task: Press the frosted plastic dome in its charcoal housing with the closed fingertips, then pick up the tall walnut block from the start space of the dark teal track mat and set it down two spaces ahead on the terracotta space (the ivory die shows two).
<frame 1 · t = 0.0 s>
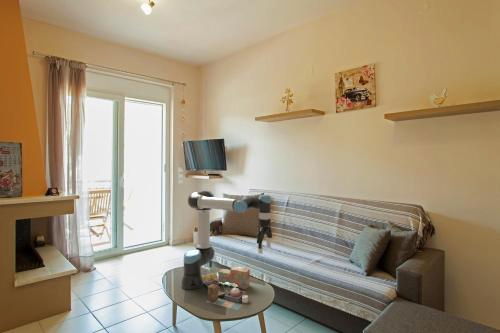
hand: (264, 250, 193), 28 cm above the table, fingers open, 13 cm apart
track mat: (224, 303, 178), on the table
ivory die: (245, 301, 181), on the table
dome housing: (235, 298, 185), on the table
stack of blocks: (233, 285, 204), on the table
dome: (235, 292, 185), point 4 cm above the table, slide at 0.5 cm
walnut block: (212, 300, 182), resting on track mat
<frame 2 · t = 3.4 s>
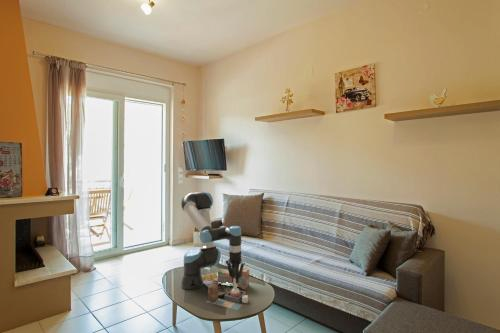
hand: (235, 287, 185), 7 cm above the table, fingers closed
dome: (235, 292, 185), point 4 cm above the table, slide at 0.6 cm, touching gripper
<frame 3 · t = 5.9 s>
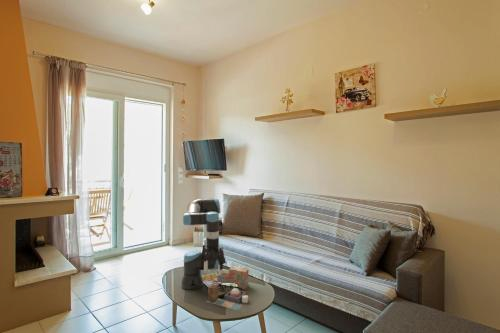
hand: (212, 272, 181), 18 cm above the table, fingers open, 10 cm apart
dome: (235, 292, 185), point 4 cm above the table, slide at 0.9 cm
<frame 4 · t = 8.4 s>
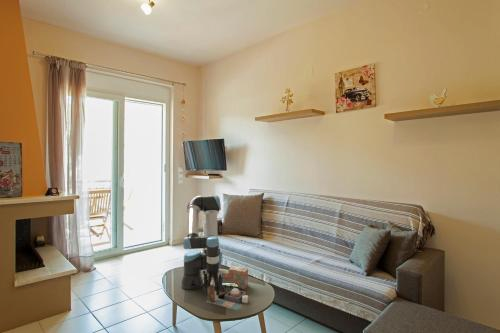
hand: (212, 298, 182), 1 cm above the table, fingers closed on walnut block, 4 cm apart
walnut block: (212, 300, 182), resting on track mat, touching gripper
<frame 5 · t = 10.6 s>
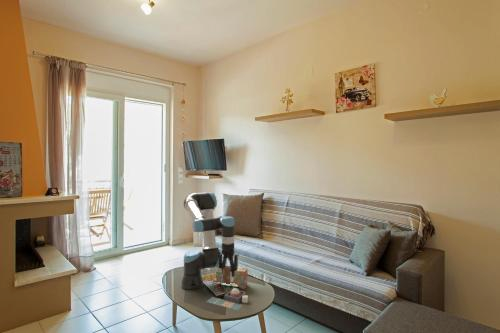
hand: (228, 280, 176), 15 cm above the table, fingers closed on walnut block, 4 cm apart
walnut block: (228, 282, 176), point 14 cm above the table, touching gripper
when the fingers open (3 cm above the table, at t = 12.9 s): walnut block drops 1 cm, resting on track mat.
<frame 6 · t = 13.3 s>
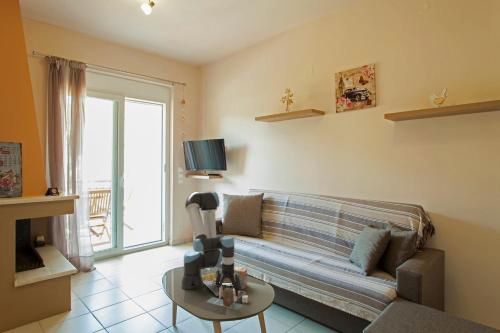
hand: (228, 298, 177), 4 cm above the table, fingers open, 9 cm apart
walnut block: (228, 304, 177), resting on track mat
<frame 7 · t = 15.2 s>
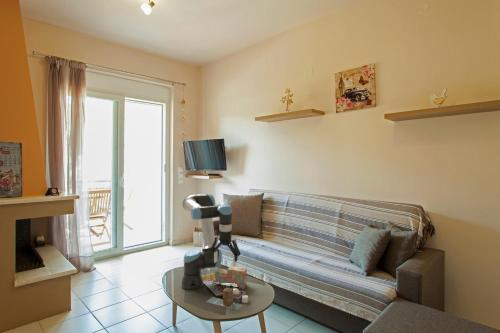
hand: (225, 264, 180), 24 cm above the table, fingers open, 13 cm apart
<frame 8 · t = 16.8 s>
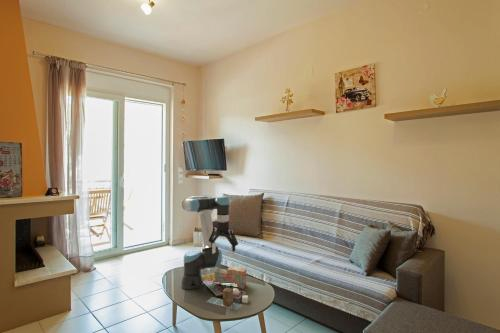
hand: (223, 254, 182), 29 cm above the table, fingers open, 13 cm apart
at the end: walnut block 0.1 cm from the target spot, resting on track mat; walnut block tilted 0°; the gripper is holding nothing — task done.
